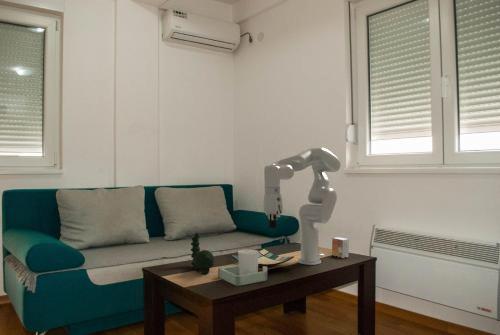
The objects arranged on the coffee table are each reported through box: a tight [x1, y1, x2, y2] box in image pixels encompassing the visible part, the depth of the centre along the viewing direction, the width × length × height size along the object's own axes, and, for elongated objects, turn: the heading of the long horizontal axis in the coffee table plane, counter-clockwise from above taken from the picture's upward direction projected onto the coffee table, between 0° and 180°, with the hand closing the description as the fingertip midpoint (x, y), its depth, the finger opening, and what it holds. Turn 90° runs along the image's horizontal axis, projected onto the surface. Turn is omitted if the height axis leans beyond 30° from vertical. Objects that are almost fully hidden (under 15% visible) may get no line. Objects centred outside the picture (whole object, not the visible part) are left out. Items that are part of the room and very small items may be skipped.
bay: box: [217, 264, 268, 287], centre depth 180 cm, size 16×17×6 cm
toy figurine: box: [190, 232, 215, 275], centre depth 194 cm, size 9×19×25 cm
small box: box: [331, 236, 350, 259], centre depth 226 cm, size 8×6×10 cm
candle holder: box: [237, 248, 260, 276], centre depth 183 cm, size 10×10×12 cm
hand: (272, 227), depth 190 cm, fingers closed
